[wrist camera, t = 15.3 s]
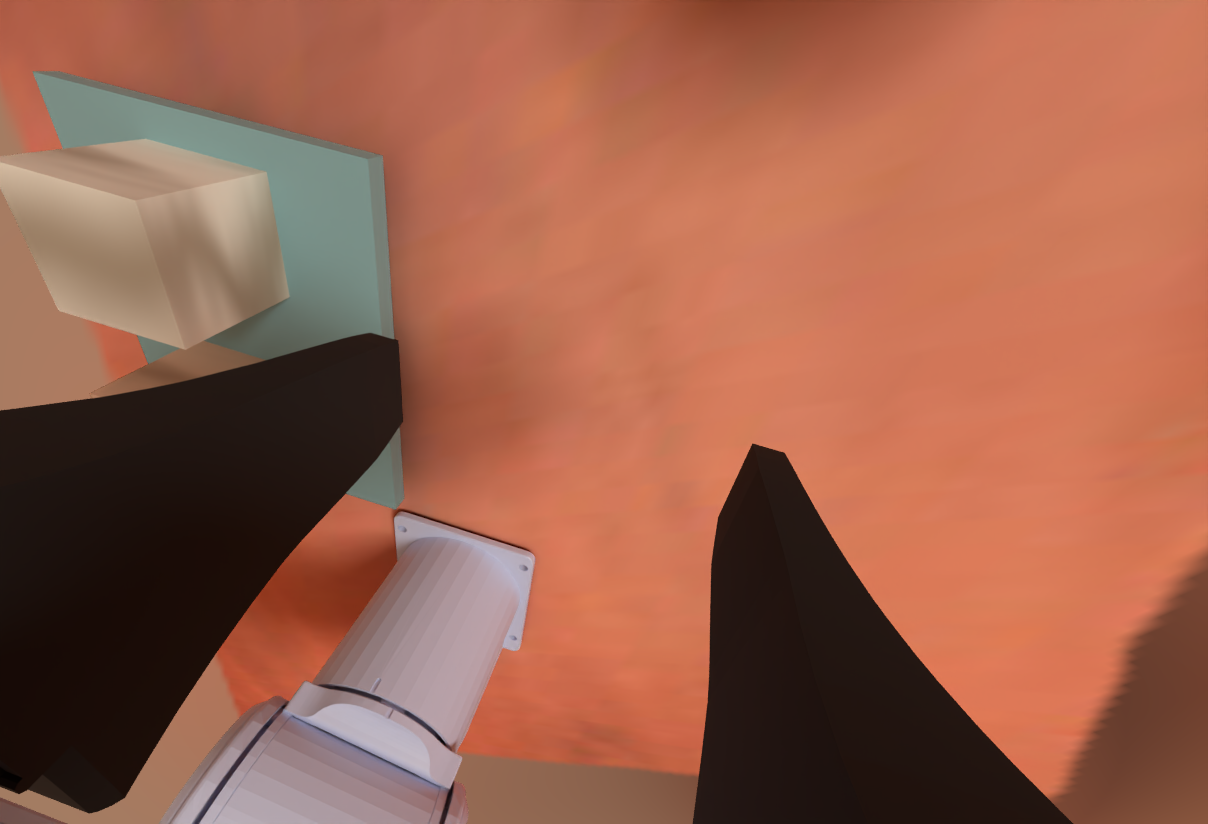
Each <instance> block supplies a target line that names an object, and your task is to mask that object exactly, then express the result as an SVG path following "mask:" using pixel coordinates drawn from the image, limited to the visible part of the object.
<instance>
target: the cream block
mask: <svg viewBox="0 0 1208 824" xmlns="http://www.w3.org/2000/svg"><path fill="white" fill-rule="evenodd" d="M0 188H1V191H2V193H3V195H4V197H5V199H6V201H7V203H8V206H9V208H10V209H11V212H12V214H13V216H14V218H15V220H16V222H17V224H18V227H19V229H20V230H21V233H22V235H23V237H24V239H25V241H26V243H27V245H28V247H29V250H30V252H31V254H32V256H33V258H34V260H35V262H36V264H37V266H38V268H39V270H40V273H41V275H42V277H43V279H44V281H45V283H46V285H47V287H48V289H49V291H50V294H51V295H52V298H53V300H54V302H55V304H56V306H57V308H58V310H59V311H61V312H64V313H67V314H71V315H74V316H77V317H81V318H84V319H87V320H90V321H93V322H97V323H100V324H103V325H106V326H110V327H113V328H116V329H119V330H123V331H126V332H129V333H132V334H136V335H139V336H142V337H145V338H149V339H152V340H155V341H158V342H162V343H165V344H168V345H171V346H175V347H178V348H181V349H184V350H186V349H188V348H190V347H192V346H194V345H196V344H198V343H200V342H202V341H204V340H206V339H208V338H210V337H212V336H214V335H216V334H218V333H220V332H222V331H224V330H226V329H228V328H230V327H232V326H234V325H236V324H238V323H240V322H242V321H244V320H246V319H247V318H249V317H251V316H253V315H255V314H257V313H259V312H261V311H263V310H265V309H267V308H269V307H271V306H273V305H275V304H277V303H279V302H281V301H283V300H285V299H287V298H289V297H290V296H289V290H288V285H287V279H286V274H285V269H284V263H283V258H282V252H281V247H280V241H279V236H278V231H277V225H276V220H275V214H274V209H273V203H272V198H271V193H270V187H269V182H268V176H267V172H266V171H262V170H258V169H255V168H251V167H247V166H244V165H240V164H236V163H233V162H229V161H225V160H222V159H218V158H214V157H211V156H207V155H203V154H200V153H196V152H192V151H189V150H185V149H181V148H178V147H174V146H170V145H167V144H163V143H160V142H156V141H152V140H149V139H140V140H131V141H123V142H115V143H106V144H98V145H90V146H81V147H73V148H65V149H56V150H48V151H40V152H31V153H23V154H15V155H6V156H0Z"/></svg>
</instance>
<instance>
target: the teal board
mask: <svg viewBox="0 0 1208 824" xmlns="http://www.w3.org/2000/svg"><path fill="white" fill-rule="evenodd" d="M33 74H34V76H35V79H36V82H37V84H38V87H39V89H40V92H41V94H42V97H43V99H44V102H45V104H46V107H47V109H48V112H49V114H50V117H51V119H52V122H53V125H54V127H55V130H56V132H57V135H58V137H59V140H60V142H61V145H62V147H63V149H65V148H73V147H81V146H90V145H98V144H106V143H115V142H123V141H131V140H140V139H149V140H152V141H156V142H160V143H163V144H167V145H170V146H174V147H178V148H181V149H185V150H189V151H192V152H196V153H200V154H203V155H207V156H211V157H214V158H218V159H222V160H225V161H229V162H233V163H236V164H240V165H244V166H247V167H251V168H255V169H258V170H262V171H266V172H267V176H268V182H269V187H270V193H271V198H272V203H273V209H274V214H275V220H276V225H277V231H278V236H279V241H280V247H281V252H282V258H283V263H284V269H285V274H286V279H287V285H288V290H289V296H290V297H289V298H287V299H285V300H283V301H281V302H279V303H277V304H275V305H273V306H271V307H269V308H267V309H265V310H263V311H261V312H259V313H257V314H255V315H253V316H251V317H249V318H247V319H246V320H244V321H242V322H240V323H238V324H236V325H234V326H232V327H230V328H228V329H226V330H224V331H222V332H220V333H218V334H216V335H214V336H212V337H210V338H208V339H206V340H204V341H206V342H209V343H212V344H215V345H219V346H222V347H225V348H228V349H232V350H235V351H238V352H241V353H244V354H248V355H251V356H254V357H257V358H261V359H264V360H268V359H272V358H275V357H279V356H282V355H286V354H289V353H293V352H296V351H300V350H303V349H307V348H310V347H314V346H317V345H321V344H325V343H328V342H332V341H335V340H339V339H343V338H347V337H351V336H355V335H360V334H365V333H374V334H377V335H381V336H384V337H387V338H391V339H394V327H393V311H392V295H391V279H390V264H389V248H388V232H387V216H386V200H385V185H384V169H383V155H379V154H375V153H371V152H367V151H363V150H359V149H356V148H352V147H348V146H344V145H340V144H336V143H333V142H329V141H325V140H321V139H317V138H313V137H310V136H306V135H302V134H298V133H294V132H290V131H286V130H283V129H279V128H275V127H271V126H267V125H263V124H260V123H256V122H252V121H248V120H244V119H240V118H237V117H233V116H229V115H225V114H221V113H217V112H213V111H210V110H206V109H202V108H198V107H194V106H190V105H187V104H183V103H179V102H175V101H171V100H167V99H164V98H160V97H156V96H152V95H148V94H144V93H140V92H137V91H133V90H129V89H125V88H121V87H117V86H114V85H110V84H106V83H102V82H98V81H94V80H91V79H87V78H83V77H79V76H75V75H71V74H67V73H64V72H60V71H33ZM137 337H138V339H139V342H140V344H141V347H142V349H143V352H144V354H145V357H146V360H147V362H148V364H150V363H152V362H154V361H156V360H158V359H160V358H162V357H164V356H166V355H168V354H170V353H172V352H174V351H176V350H178V349H180V348H178V347H175V346H171V345H168V344H165V343H162V342H158V341H155V340H152V339H149V338H145V337H142V336H139V335H137ZM346 494H348V495H351V496H354V497H358V498H361V499H364V500H367V501H370V502H373V503H376V504H380V505H383V506H386V507H389V508H392V509H395V510H396V508H397V507H398V506H399V505H400V503H401V502H402V501H403V500H404V485H403V469H402V453H401V437H400V427H399V428H398V430H397V431H396V433H395V434H394V436H393V437H392V439H391V440H390V442H389V443H388V444H387V446H386V447H385V449H384V450H383V451H382V453H381V454H380V456H379V457H378V458H377V460H376V461H375V462H374V463H373V464H372V465H371V466H370V467H369V469H368V470H367V471H366V472H365V473H364V474H363V475H362V476H361V477H360V478H359V480H358V481H357V482H356V483H355V484H354V485H353V486H352V487H351V488H350V489H349V490H348V491H347V492H346Z"/></svg>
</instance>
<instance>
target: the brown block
mask: <svg viewBox="0 0 1208 824" xmlns="http://www.w3.org/2000/svg"><path fill="white" fill-rule="evenodd" d="M261 361H265V360H264V359H261V358H257V357H254V356H251V355H248V354H244V353H241V352H238V351H235V350H232V349H228V348H225V347H222V346H219V345H215V344H212V343H209V342H206V341H202V342H200V343H198V344H196V345H194V346H192V347H190V348H188V349H186V350H184V349H181V348H180V349H178V350H176V351H174V352H172V353H170V354H168V355H166V356H164V357H162V358H160V359H158V360H156V361H154V362H152V363H150V364H148V365H146V366H144V367H142V368H140V369H138V370H136V371H134V372H131V373H129V374H127V375H125V376H123V377H121V378H119V379H117V380H115V381H113V382H111V383H109V384H107V385H105V386H103V387H101V388H99V389H97V390H95V391H93V392H91V393H90V396H91V398H98V397H104V396H110V395H116V394H121V393H126V392H132V391H137V390H143V389H148V388H153V387H158V386H163V385H168V384H173V383H177V382H182V381H186V380H191V379H195V378H199V377H203V376H207V375H211V374H214V373H218V372H222V371H226V370H230V369H234V368H238V367H242V366H246V365H250V364H254V363H258V362H261Z"/></svg>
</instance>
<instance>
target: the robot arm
mask: <svg viewBox="0 0 1208 824" xmlns="http://www.w3.org/2000/svg"><path fill="white" fill-rule="evenodd" d="M402 422H403V413H402V396H401V378H400V361H399V344H398V340H394V339H391V338H387V337H384V336H381V335H377V334H374V333H365V334H360V335H355V336H351V337H347V338H343V339H339V340H335V341H332V342H328V343H325V344H321V345H317V346H314V347H310V348H307V349H303V350H300V351H296V352H293V353H289V354H286V355H282V356H279V357H275V358H272V359H268V360H265V361H261V362H258V363H254V364H250V365H246V366H242V367H238V368H234V369H230V370H226V371H222V372H218V373H214V374H211V375H207V376H203V377H199V378H195V379H191V380H186V381H182V382H177V383H173V384H168V385H163V386H158V387H153V388H148V389H143V390H137V391H132V392H126V393H121V394H116V395H110V396H104V397H98V398H92V399H84V400H77V401H69V402H62V403H54V404H47V405H40V406H33V407H25V408H18V409H10V410H1V411H0V787H2V788H5V789H7V790H10V791H13V792H15V793H18V794H20V793H22V792H24V791H27V790H30V791H33V792H36V793H38V794H41V795H43V796H46V797H48V798H51V799H54V800H56V801H59V802H61V803H64V804H66V805H69V806H71V807H74V808H77V809H79V810H82V811H84V812H87V813H93V812H98V811H100V810H102V809H105V808H107V807H109V806H112V805H113V804H115V803H117V802H118V801H120V800H122V799H123V798H125V797H126V795H127V793H128V792H129V790H130V788H131V786H132V785H133V783H134V781H135V780H136V778H137V776H138V774H139V773H140V771H141V770H142V768H143V766H144V765H145V763H146V761H147V760H148V758H149V756H150V755H151V753H152V752H153V749H154V748H155V747H156V745H157V744H158V742H159V740H160V738H161V737H162V735H163V734H164V732H165V731H166V729H167V727H168V726H169V724H170V723H171V721H172V719H173V717H174V716H175V714H176V713H177V711H178V710H179V708H180V707H181V705H182V704H183V702H184V701H185V699H186V697H187V696H188V695H189V693H190V691H191V690H192V689H193V687H194V686H195V684H196V682H197V681H198V680H199V678H200V677H201V675H202V673H203V672H204V671H205V669H206V667H207V666H208V665H209V663H210V661H211V660H212V659H213V657H214V656H215V654H216V653H217V651H218V650H219V648H220V647H221V646H222V644H223V643H224V641H225V640H226V639H227V637H228V636H229V634H230V633H231V632H232V630H233V629H234V627H235V626H236V625H237V623H238V622H239V620H240V619H241V618H242V616H243V615H244V613H245V612H246V611H247V609H248V608H249V606H250V605H251V604H252V602H253V601H254V600H255V598H256V597H257V596H258V594H259V593H260V592H261V590H262V589H263V588H264V586H265V585H266V584H267V583H268V581H269V580H270V579H271V577H272V576H273V575H274V573H275V572H276V571H277V569H278V568H279V567H280V565H281V564H282V563H283V562H284V560H285V559H286V558H287V557H288V556H289V554H290V553H291V552H292V551H293V550H294V549H295V547H296V546H297V545H298V544H299V543H300V542H301V541H302V539H303V538H304V537H305V536H306V535H307V534H308V533H309V532H310V531H311V530H312V529H313V528H314V527H315V526H316V524H317V523H318V522H319V521H320V520H321V519H322V518H323V517H324V516H325V515H326V514H327V513H328V512H329V511H330V510H331V508H332V507H333V506H334V505H335V504H336V503H337V502H338V501H339V500H340V499H341V498H342V497H343V496H344V495H345V494H346V492H347V491H348V490H349V489H350V488H351V487H352V486H353V485H354V484H355V483H356V482H357V481H358V480H359V478H360V477H361V476H362V475H363V474H364V473H365V472H366V471H367V470H368V469H369V467H370V466H371V465H372V464H373V463H374V462H375V461H376V460H377V458H378V457H379V456H380V454H381V453H382V451H383V450H384V449H385V447H386V446H387V444H388V443H389V442H390V440H391V439H392V437H393V436H394V434H395V433H396V431H397V430H398V428H399V427H400V425H401V424H402ZM394 528H395V540H396V552H397V563H396V564H395V566H394V567H393V569H392V570H391V571H390V573H389V574H388V576H387V577H386V578H385V580H384V581H383V583H382V584H381V585H380V587H379V588H378V590H377V591H376V593H375V594H374V595H373V597H372V598H371V600H370V601H369V602H368V604H367V605H366V607H365V608H364V610H363V611H362V612H361V614H360V615H359V617H358V618H357V619H356V621H355V622H354V624H353V625H352V626H351V628H350V629H349V631H348V632H347V634H346V635H345V636H344V638H343V639H342V641H341V642H340V643H339V645H338V646H337V648H336V649H335V650H334V652H333V653H332V655H331V656H330V658H329V659H328V660H327V662H326V663H325V665H324V666H323V667H322V669H321V670H320V672H319V673H318V675H317V676H316V677H315V679H314V680H313V682H312V683H311V682H308V681H304V682H303V683H302V685H301V686H300V687H299V689H298V690H297V692H296V693H295V694H294V696H293V697H292V699H291V700H290V701H287V700H286V699H284V698H283V697H281V696H274V697H272V698H270V699H269V700H268V701H265V702H262V703H259V704H257V705H254V706H252V707H251V708H250V709H248V710H247V711H246V712H245V713H244V714H243V715H242V716H241V717H240V718H239V719H238V720H237V721H236V722H235V723H234V724H233V725H232V726H231V727H230V728H229V730H228V731H227V732H226V733H225V734H224V735H223V737H222V738H221V739H220V740H219V741H218V743H217V744H216V745H215V746H214V747H213V749H212V750H211V751H210V752H209V753H208V755H207V756H206V757H205V759H204V760H203V761H202V762H201V764H200V765H199V766H198V768H197V769H196V770H195V772H194V773H193V774H192V776H191V777H190V778H189V780H188V781H187V782H186V784H185V786H184V787H183V788H182V789H181V791H180V792H179V794H178V795H177V797H176V798H175V799H174V801H173V802H172V804H171V805H170V807H169V808H168V810H167V811H166V813H165V814H164V816H163V818H162V819H161V821H160V822H159V824H467V819H468V805H467V800H466V790H465V787H464V785H463V784H461V783H459V782H456V781H454V778H455V776H456V773H457V771H458V768H459V766H460V764H461V761H462V757H461V756H460V755H458V754H456V752H457V750H458V748H459V746H460V744H461V743H462V741H463V739H464V737H465V735H466V733H467V731H468V729H469V726H470V724H471V721H472V719H473V717H474V714H475V712H476V710H477V707H478V705H479V703H480V700H481V698H482V695H483V693H484V691H485V688H486V686H487V684H488V681H489V679H490V676H491V674H492V672H493V669H494V667H495V665H496V662H497V660H498V657H499V655H500V653H501V650H502V648H506V649H509V650H512V651H517V650H519V648H520V646H521V642H522V636H523V630H524V624H525V618H526V612H527V606H528V600H529V595H530V589H531V583H532V577H533V571H534V565H535V557H534V555H533V554H532V553H531V552H529V551H526V550H523V549H520V548H517V547H513V546H510V545H507V544H504V543H501V542H498V541H495V540H491V539H488V538H485V537H482V536H479V535H476V534H473V533H470V532H466V531H463V530H460V529H457V528H454V527H451V526H448V525H444V524H441V523H438V522H435V521H432V520H429V519H426V518H423V517H419V516H416V515H413V514H410V513H407V512H398V513H397V514H396V516H395V517H394ZM0 824H66V823H64V822H61V821H59V820H56V819H54V818H51V817H49V816H46V815H44V814H41V813H38V812H36V811H33V810H31V809H28V808H26V807H23V806H21V805H18V804H15V803H13V802H10V801H8V800H5V799H3V798H0ZM693 824H1073V823H1072V822H1071V821H1070V820H1069V819H1068V818H1067V817H1066V816H1065V815H1064V814H1063V813H1062V812H1061V811H1060V810H1059V809H1058V808H1057V807H1055V805H1054V804H1053V803H1052V802H1051V801H1050V800H1049V799H1048V798H1047V797H1046V796H1045V795H1044V794H1043V793H1042V792H1041V791H1040V790H1039V789H1038V788H1037V787H1036V786H1035V785H1034V784H1033V783H1032V782H1031V781H1030V780H1029V779H1028V778H1027V777H1026V776H1025V775H1024V774H1023V773H1022V772H1021V771H1020V770H1019V769H1018V768H1017V767H1016V766H1015V765H1014V764H1013V763H1012V762H1011V761H1010V760H1009V759H1008V758H1007V757H1006V756H1005V755H1004V753H1003V752H1002V751H1001V750H1000V749H999V748H998V747H997V746H996V745H995V744H994V743H993V742H992V741H991V740H990V739H989V738H988V737H987V736H986V734H985V733H984V732H983V731H982V730H981V729H980V728H979V727H978V726H977V725H976V724H975V723H974V721H973V720H972V719H971V718H970V717H969V716H968V715H967V714H966V712H965V711H964V710H963V709H962V708H961V707H960V706H959V705H958V703H957V702H956V701H955V700H954V699H953V698H952V697H951V696H950V694H949V693H948V692H947V691H946V690H945V689H944V688H943V687H942V685H941V684H940V683H939V682H938V681H937V680H936V679H935V677H934V676H933V675H932V674H931V673H930V671H929V670H928V669H927V668H926V667H925V665H924V664H923V663H922V662H921V661H920V659H919V658H918V657H917V656H916V655H915V653H914V652H913V651H912V649H911V648H910V647H909V646H908V644H907V643H906V642H905V641H904V639H903V638H902V637H901V635H900V634H899V633H898V632H897V630H896V629H895V628H894V626H893V625H892V624H891V623H890V621H889V620H888V619H887V617H886V616H885V615H884V613H883V612H882V611H881V609H880V608H879V607H878V605H877V604H876V603H875V601H874V600H873V598H872V597H871V596H870V594H869V593H868V591H867V590H866V588H865V587H864V585H863V584H862V582H861V581H860V579H859V578H858V576H857V575H856V573H855V572H854V571H853V569H852V568H851V566H850V565H849V563H848V562H847V560H846V558H845V557H844V555H843V554H842V552H841V551H840V549H839V547H838V546H837V544H836V543H835V541H834V539H833V538H832V536H831V534H830V533H829V531H828V529H827V528H826V526H825V524H824V523H823V521H822V519H821V517H820V516H819V514H818V512H817V511H816V509H815V507H814V505H813V503H812V502H811V500H810V498H809V496H808V494H807V493H806V491H805V489H804V487H803V485H802V484H801V482H800V480H799V478H798V476H797V474H796V472H795V471H794V469H793V467H792V465H791V463H790V462H789V460H788V458H787V456H786V454H785V453H783V452H780V451H776V450H773V449H769V448H766V447H763V446H759V445H756V444H752V446H751V448H750V450H749V452H748V454H747V457H746V459H745V461H744V463H743V465H742V467H741V469H740V472H739V474H738V476H737V478H736V480H735V482H734V485H733V487H732V489H731V491H730V493H729V495H728V497H727V500H726V502H725V504H724V506H723V508H722V510H721V512H720V515H719V517H718V522H717V529H716V535H715V542H714V549H713V556H712V564H711V604H710V665H709V690H708V704H707V713H706V721H705V730H704V739H703V747H702V756H701V764H700V772H699V779H698V787H697V795H696V803H695V810H694V818H693Z"/></svg>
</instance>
